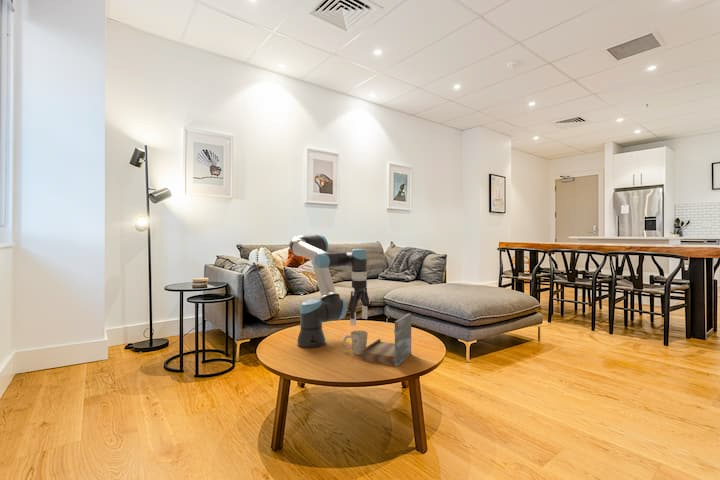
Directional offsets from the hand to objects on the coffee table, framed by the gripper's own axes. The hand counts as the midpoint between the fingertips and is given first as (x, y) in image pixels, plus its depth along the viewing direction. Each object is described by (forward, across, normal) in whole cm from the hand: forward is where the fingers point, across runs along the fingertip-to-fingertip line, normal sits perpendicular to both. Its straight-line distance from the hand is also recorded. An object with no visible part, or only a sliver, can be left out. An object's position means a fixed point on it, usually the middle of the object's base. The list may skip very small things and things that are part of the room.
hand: (359, 321), depth 178 cm
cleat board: (+15, -1, -16) cm, 22 cm away
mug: (+15, -2, +1) cm, 16 cm away
